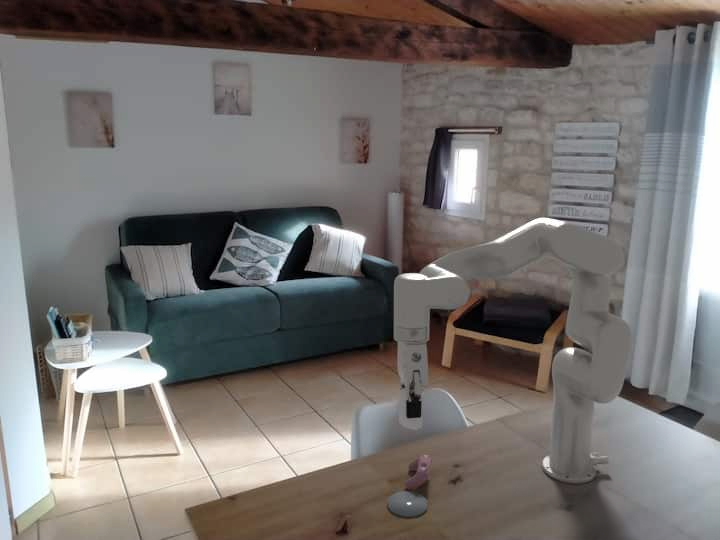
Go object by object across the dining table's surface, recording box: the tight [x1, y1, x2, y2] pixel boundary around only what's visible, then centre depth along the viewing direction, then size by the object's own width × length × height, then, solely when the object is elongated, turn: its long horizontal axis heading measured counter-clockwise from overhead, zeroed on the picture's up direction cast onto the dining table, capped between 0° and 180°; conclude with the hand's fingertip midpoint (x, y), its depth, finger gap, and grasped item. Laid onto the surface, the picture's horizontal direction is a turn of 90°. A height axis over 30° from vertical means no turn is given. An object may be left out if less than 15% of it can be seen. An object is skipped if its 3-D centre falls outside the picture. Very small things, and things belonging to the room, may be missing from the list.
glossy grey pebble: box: [387, 490, 429, 518], centre depth 137 cm, size 9×9×1 cm
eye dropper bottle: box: [398, 384, 424, 431], centre depth 132 cm, size 4×6×12 cm
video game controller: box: [403, 454, 433, 491], centre depth 146 cm, size 10×5×7 cm, turn 169°
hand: (410, 410), depth 132 cm, fingers closed on eye dropper bottle, 5 cm apart
